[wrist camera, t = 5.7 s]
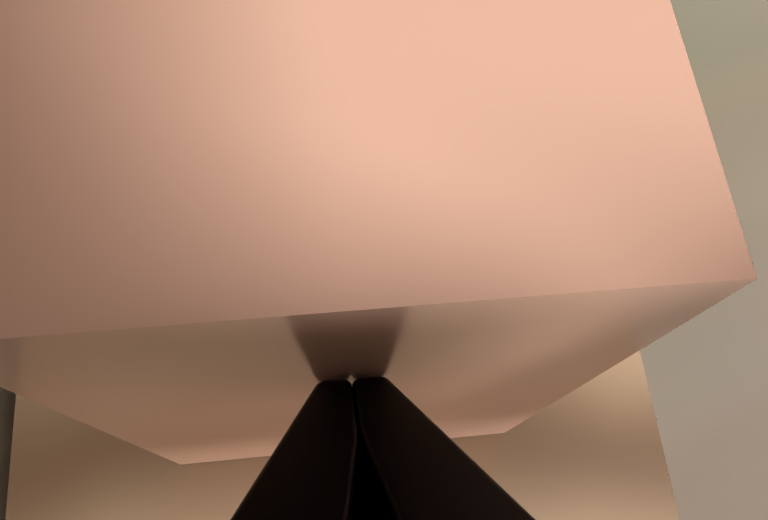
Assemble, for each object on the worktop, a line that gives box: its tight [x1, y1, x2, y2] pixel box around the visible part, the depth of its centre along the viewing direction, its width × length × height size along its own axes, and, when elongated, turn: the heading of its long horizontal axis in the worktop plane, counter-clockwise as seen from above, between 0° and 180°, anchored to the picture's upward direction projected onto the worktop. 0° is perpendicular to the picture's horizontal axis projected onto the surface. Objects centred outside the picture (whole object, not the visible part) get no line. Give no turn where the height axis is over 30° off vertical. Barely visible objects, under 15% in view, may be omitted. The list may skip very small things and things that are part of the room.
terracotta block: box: [0, 0, 757, 465], centre depth 12 cm, size 7×7×10 cm
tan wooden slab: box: [5, 350, 679, 520], centre depth 16 cm, size 12×14×2 cm
